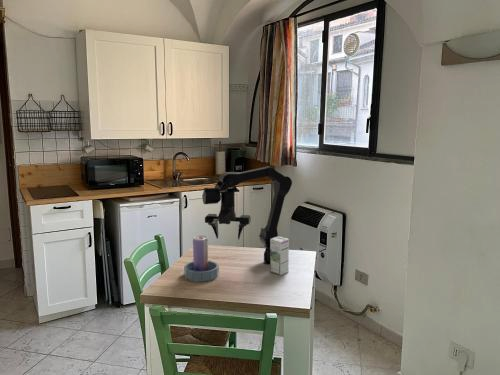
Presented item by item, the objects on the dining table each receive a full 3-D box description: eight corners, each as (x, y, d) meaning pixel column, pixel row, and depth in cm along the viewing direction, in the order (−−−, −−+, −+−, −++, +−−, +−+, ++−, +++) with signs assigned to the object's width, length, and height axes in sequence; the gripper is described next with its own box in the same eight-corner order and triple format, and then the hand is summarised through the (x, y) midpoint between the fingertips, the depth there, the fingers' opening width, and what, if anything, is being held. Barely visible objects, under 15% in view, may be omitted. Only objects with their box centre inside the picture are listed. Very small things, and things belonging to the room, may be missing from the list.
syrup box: (289, 271, 170) (289, 238, 168) (280, 275, 166) (280, 241, 164) (278, 268, 174) (278, 235, 172) (269, 272, 170) (269, 238, 167)
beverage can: (197, 276, 162) (196, 240, 159) (191, 272, 167) (190, 236, 164) (210, 273, 165) (210, 238, 162) (204, 269, 170) (203, 234, 167)
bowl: (221, 270, 172) (221, 261, 171) (213, 282, 158) (213, 273, 158) (190, 268, 174) (190, 259, 173) (180, 280, 160) (180, 271, 160)
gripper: (200, 205, 163) (201, 243, 166) (246, 207, 160) (246, 245, 163) (208, 200, 174) (208, 235, 177) (251, 202, 171) (250, 237, 174)
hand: (228, 238), depth 172 cm, fingers open, 9 cm apart
